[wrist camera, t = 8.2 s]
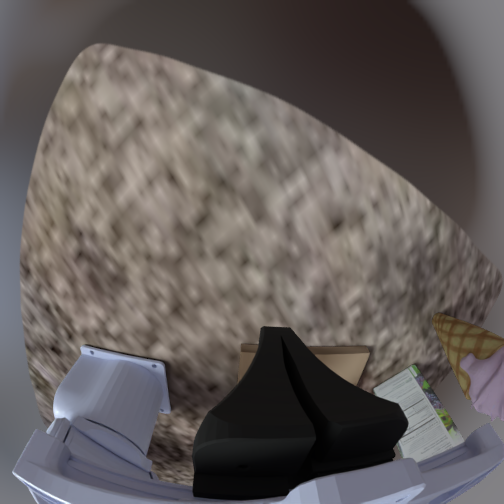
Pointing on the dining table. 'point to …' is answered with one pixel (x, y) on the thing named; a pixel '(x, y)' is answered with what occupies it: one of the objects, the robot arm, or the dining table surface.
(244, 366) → the frame
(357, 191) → the dining table surface
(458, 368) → the ice cream cone
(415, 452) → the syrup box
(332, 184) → the dining table surface
